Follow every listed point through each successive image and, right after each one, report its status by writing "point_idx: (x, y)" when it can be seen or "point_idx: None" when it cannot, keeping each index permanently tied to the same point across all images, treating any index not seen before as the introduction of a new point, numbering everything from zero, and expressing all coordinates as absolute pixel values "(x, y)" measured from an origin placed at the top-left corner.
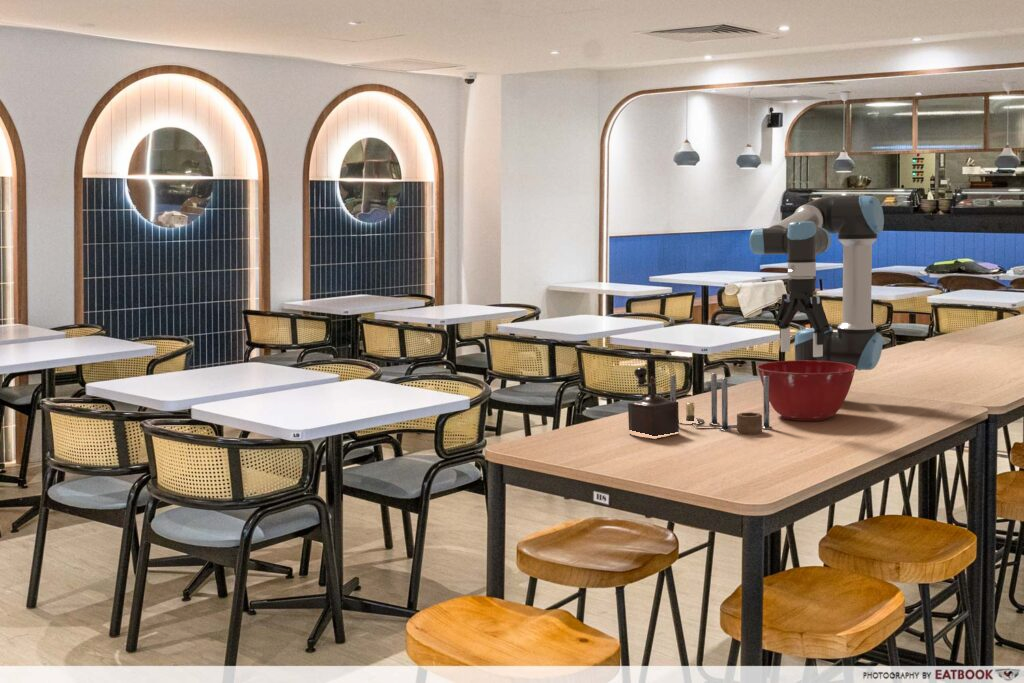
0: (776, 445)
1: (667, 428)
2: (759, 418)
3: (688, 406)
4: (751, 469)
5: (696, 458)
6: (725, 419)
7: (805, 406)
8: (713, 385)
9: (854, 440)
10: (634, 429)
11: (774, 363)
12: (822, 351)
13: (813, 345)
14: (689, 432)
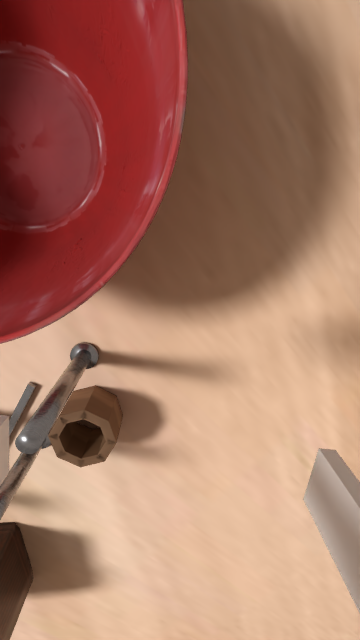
0: (231, 458)
1: (17, 568)
2: (113, 427)
3: None
4: (320, 592)
5: (203, 605)
6: (35, 457)
7: (94, 239)
8: None
9: (327, 306)
10: None
11: None
12: (352, 474)
13: (343, 571)
14: None
